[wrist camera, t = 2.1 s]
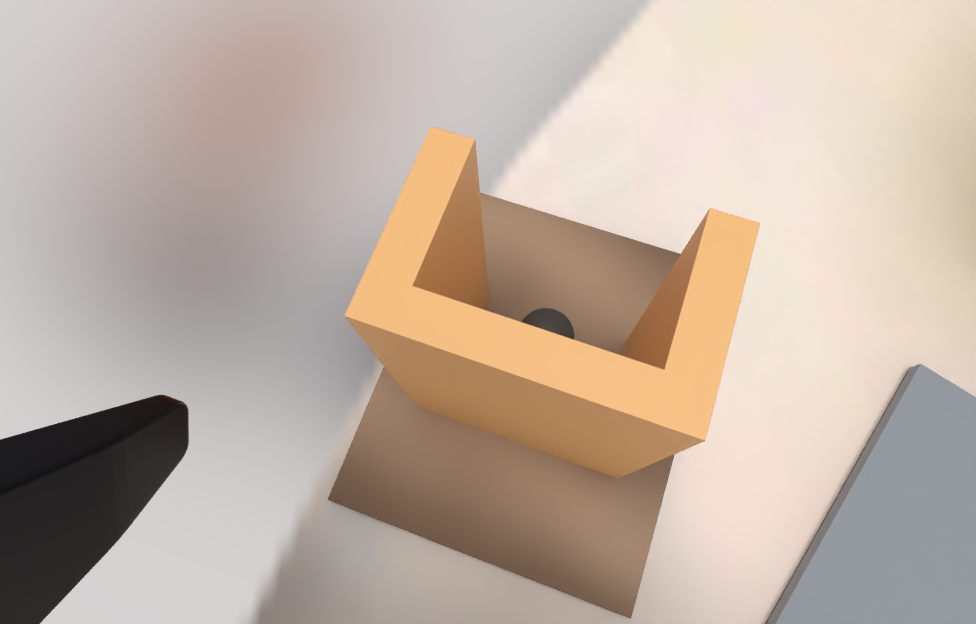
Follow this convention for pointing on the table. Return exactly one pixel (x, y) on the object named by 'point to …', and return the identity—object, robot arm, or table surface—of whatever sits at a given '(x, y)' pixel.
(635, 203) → the table surface
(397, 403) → the stand
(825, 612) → the rubber mat
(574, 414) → the c link
